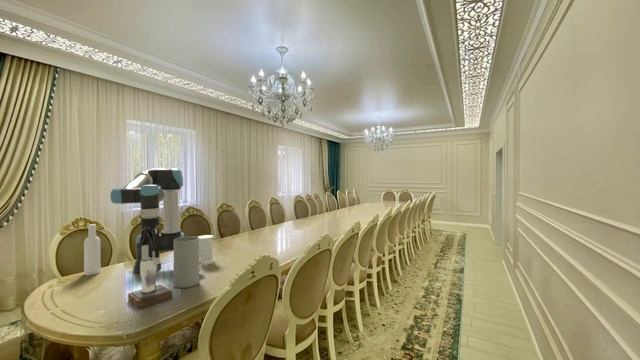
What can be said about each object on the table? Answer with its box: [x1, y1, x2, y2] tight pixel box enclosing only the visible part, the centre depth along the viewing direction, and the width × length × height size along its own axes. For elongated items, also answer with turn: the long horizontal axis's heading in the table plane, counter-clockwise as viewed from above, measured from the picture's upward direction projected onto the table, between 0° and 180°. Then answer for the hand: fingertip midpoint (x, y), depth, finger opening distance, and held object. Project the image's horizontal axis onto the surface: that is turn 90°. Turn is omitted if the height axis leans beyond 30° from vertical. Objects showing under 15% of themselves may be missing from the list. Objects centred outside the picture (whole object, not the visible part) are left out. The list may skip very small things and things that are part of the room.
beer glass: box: [139, 258, 158, 293], centre depth 130 cm, size 7×7×15 cm
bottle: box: [83, 223, 102, 276], centre depth 166 cm, size 8×8×30 cm
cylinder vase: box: [173, 235, 200, 289], centre depth 149 cm, size 12×12×25 cm
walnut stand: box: [127, 284, 173, 311], centre depth 129 cm, size 14×14×4 cm
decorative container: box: [197, 234, 215, 266], centre depth 186 cm, size 12×12×18 cm
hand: (150, 261), depth 129 cm, fingers open, 13 cm apart
